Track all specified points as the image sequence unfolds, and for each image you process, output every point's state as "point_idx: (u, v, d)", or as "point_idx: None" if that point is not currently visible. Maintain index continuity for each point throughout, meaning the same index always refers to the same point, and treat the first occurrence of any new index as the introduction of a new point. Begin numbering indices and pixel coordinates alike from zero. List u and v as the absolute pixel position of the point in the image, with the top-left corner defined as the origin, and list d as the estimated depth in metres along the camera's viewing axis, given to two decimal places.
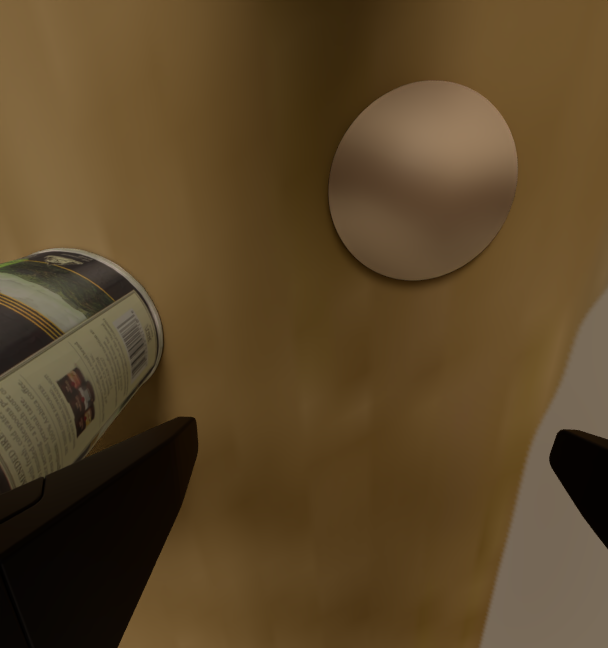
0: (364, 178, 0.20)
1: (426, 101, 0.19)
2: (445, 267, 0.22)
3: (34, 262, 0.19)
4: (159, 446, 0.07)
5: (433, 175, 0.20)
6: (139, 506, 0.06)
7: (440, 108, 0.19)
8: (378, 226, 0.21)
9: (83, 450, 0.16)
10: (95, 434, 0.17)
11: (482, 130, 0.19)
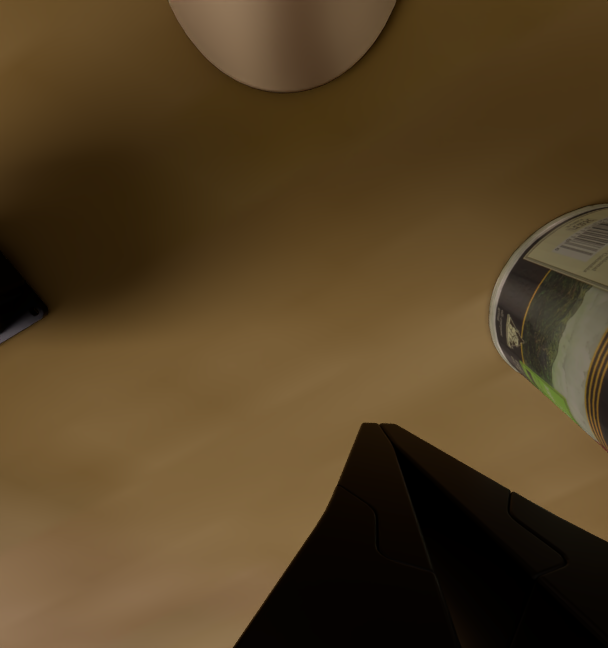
0: (302, 37, 0.16)
1: (194, 4, 0.15)
2: None
3: (524, 354, 0.18)
4: (395, 454, 0.07)
5: None
6: None
7: None
8: None
9: None
10: None
11: None
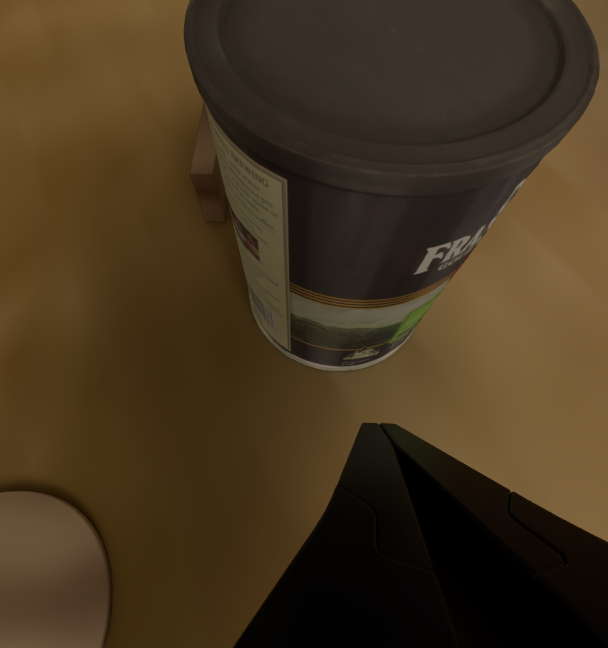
0: (61, 602, 0.16)
1: None
2: None
3: (378, 343, 0.17)
4: (395, 454, 0.07)
5: None
6: None
7: None
8: (28, 549, 0.16)
9: None
10: None
11: None
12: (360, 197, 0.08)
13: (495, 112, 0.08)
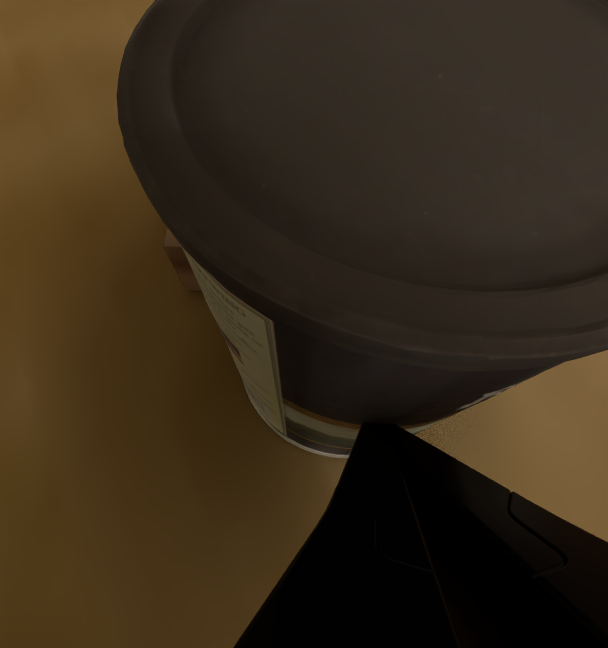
0: None
1: None
2: None
3: None
4: (395, 454, 0.07)
5: None
6: None
7: None
8: None
9: None
10: None
11: None
12: (392, 361, 0.05)
13: None
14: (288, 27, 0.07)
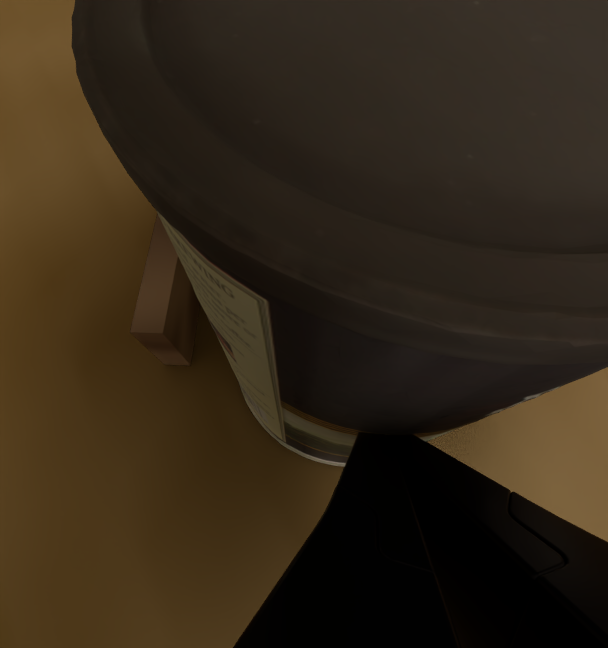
0: None
1: None
2: None
3: None
4: (395, 454, 0.07)
5: None
6: None
7: None
8: None
9: None
10: None
11: None
12: (425, 351, 0.04)
13: None
14: None
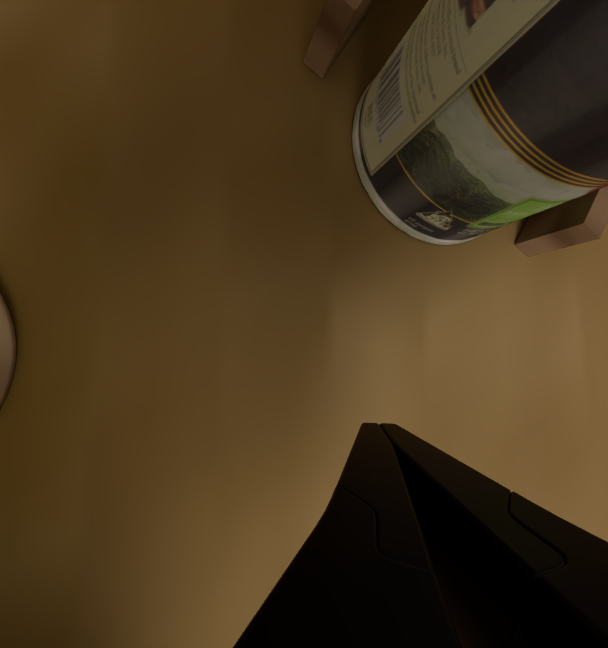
0: None
1: None
2: None
3: (463, 217, 0.17)
4: (395, 454, 0.07)
5: None
6: None
7: None
8: None
9: None
10: None
11: None
12: None
13: None
14: None
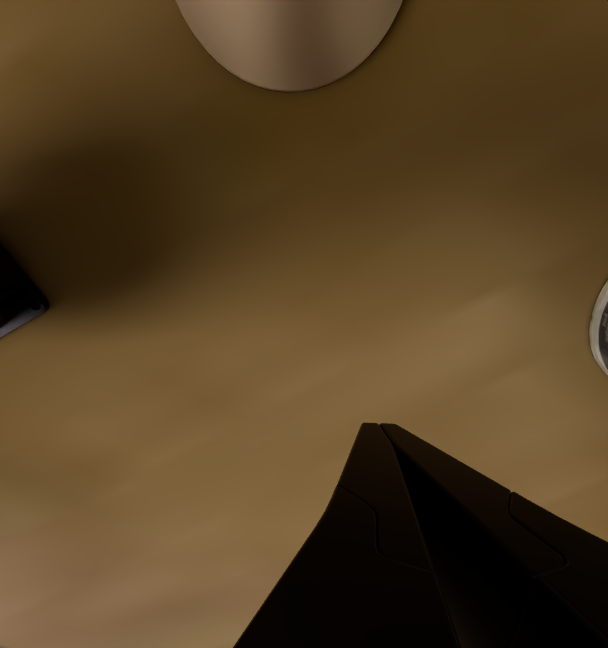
0: (307, 37, 0.16)
1: (200, 2, 0.15)
2: None
3: None
4: (395, 454, 0.07)
5: None
6: None
7: None
8: None
9: None
10: None
11: None
12: None
13: None
14: None
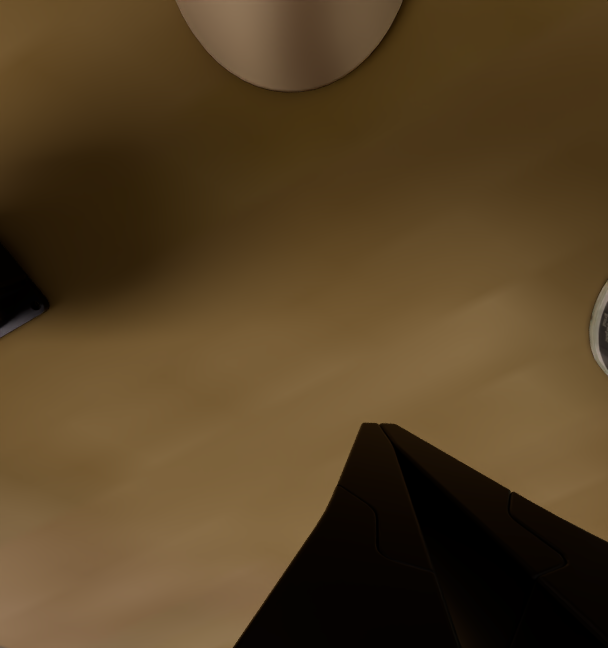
0: (307, 37, 0.16)
1: (200, 2, 0.15)
2: None
3: None
4: (395, 454, 0.07)
5: None
6: None
7: None
8: None
9: None
10: None
11: None
12: None
13: None
14: None
